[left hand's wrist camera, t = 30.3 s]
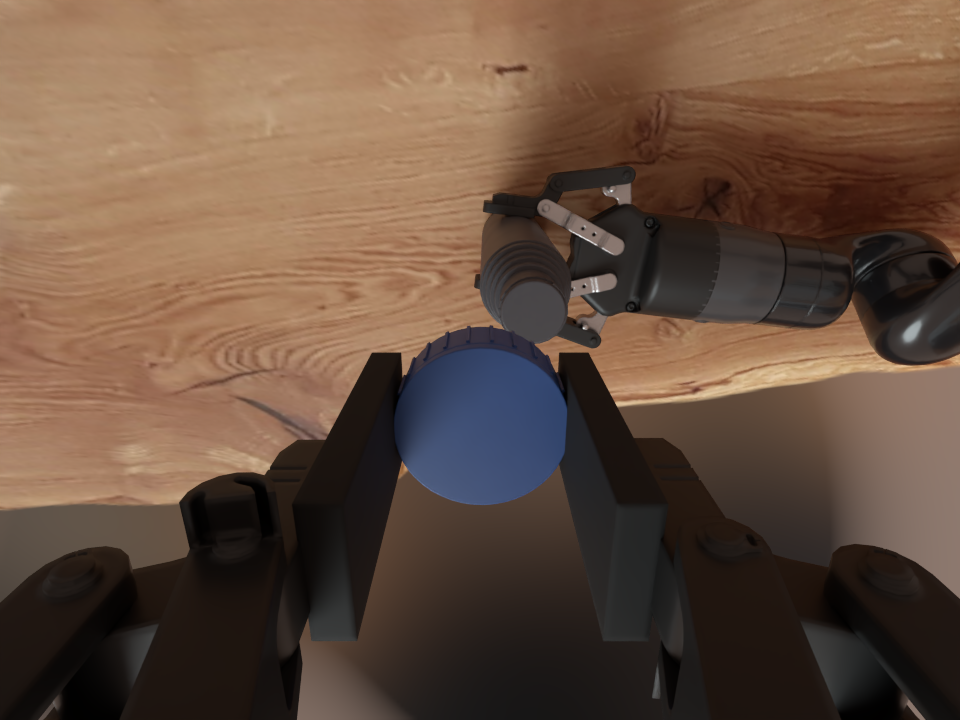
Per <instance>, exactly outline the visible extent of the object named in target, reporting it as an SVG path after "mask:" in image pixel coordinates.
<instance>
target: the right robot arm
mask: <svg viewBox="0 0 960 720" xmlns="http://www.w3.org/2000/svg"><path fill="white" fill-rule="evenodd" d="M634 178H635V170H634V169H633V168H632V167H630V166H621V165H619V166H610V167H602V168H593V169H585V170H576V171H568V172H559V173H552V174H551V175H549V176H548V178H547V182H546V184H545V186H544V188H543V190H542V192H541V193H540V194H539V195H537V196H533V197H532V196H524V195H516V194H508V193H496V194H493V199H492V201H488V200H484V206H483V212H486V213H494V214H502V215H509V216H519V217H525V218H533V219H534V216H542V217H545V218H547V219H549V220H550V221H552V222H554V223H556V224H558V225H560V226H561V227H563V228H565V229H566V230H568V231H570V232H572V233H571V239H570V250H571V254H570V256H569V258H568V260H567V262H566V263H567V265H568V268H569V271H570V275H571V288H573V289H571V295H570V298H572V297H576V296H581V297H582V298H583V299H584V300H585V301H586V302H587V303H588V304H589V305H590V306H591V307H592V308H593V309H594V310H595V311H594V312H593V313H591V314H589V315H586V314H580V315H578V316H577V317H576V319H573V318H570V317H568V316H567V319H566V322H565V324H564V326H563V328H562V330H561V331H560V332H559V333H558V334H557V335H556V336H559V337H562V338H564V339H567V340H570V341H573V342H575V343H578V344H581V345H584V346H587V347H589V348H596V347H598V346H599V345H600V343H601V338H600V336H599V334H600V332H601V330H602V328H603V326H604V323H605V321H606V319H607V317H608V316H613V315H616V314H618V313H623V312H630V313H637V314H646V315H654V316H662V317H670V318H679V319H687V320H693V321H695V322H700V323H708V322H712V323H722V324H734V323H746V324H757V325H765V326H773V327H781V328H789V329H801V330H815V329H820V328H824V327H826V326H829V325H830V324H832V323H834V322H835V321H836V320H837V319H839V318H840V317H841V315H842V314H843V313H844V312H845V310H846V309H847V307H848V305H849V303H850V301H851V300H852V302H853V305H854V307H855V309H856V312H857V314H858V317H859V319H860V321H861V324H862V326H863V329H864V331H865V333H866V336H867V338H868V340H869V342H870V345H871V346H872V347H873V349H874V350H875V352H876V353H877V354H878V355H879V356H881V357H882V358H883V359H885V360H887V361H890V362H892V363H895V364H901V365H910V366H912V365H926V364H932V363H936V362H940V361H944V360H946V359H949V358H952V357H954V356H956V355H959V354H960V262H959V264H958V263H957V261H956V259H955V258H954V256H953V254H952V253H951V251H950V250H949V248H948V247H947V246H946V245H945V244H944V243H943V242H942V241H940V240H939V239H937V238H935V237H933V236H931V235H929V234H927V233H924V232H921V231H917V230H912V229H902V228H897V229H886V230H878V231H871V232H864V233H856V234H847V235H840V236H835V237H828V238H820V239H819V238H813V237H808V236H800V235H792V234H784V233H776V232H768V231H763V230H760V229H756V228H753V227H749V226H745V225H739V224H733V223H728V222H717V221H708V220H701V219H693V218H685V217H677V216H670V215H662V214H654V213H647V212H643V211H641V210H640V209H638V208H637V207H636V206H634V205H632V201H631V182H632V181H633V180H634ZM599 187H600V191H601V193H602V194H603V195H605V196H608V197H613V198H614V199H615V201H616V205H614V206H612V207H610V208H608V209H606V210H605V211H603V212H601V213H599V214H597V215H595V216H594V217H592V218H590V219H588V220H586V219H584V218H583V217H581V216H579V215H577V214H575V213H574V212H572V211H570V210H568V209H566V208H564V207H562V206H561V205H559V204H557V202H558V200H559V198H560V196H561V194H562V193H563V192H564V191H573V190H581V189H590V188H599ZM474 287H475V288H477V289H480V274H476V276H475V284H474Z"/></svg>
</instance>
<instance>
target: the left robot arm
mask: <svg viewBox="0 0 960 720" xmlns="http://www.w3.org/2000/svg"><path fill="white" fill-rule="evenodd" d="M558 373H559V375H560V378H561V381H562V384H563V387H564V390H565V393H563V395H564V398H565V401H566V404H567V422H566V438H565V452H564V456H563V458H562V460H561V461H560V463H559V466H560V470H561V474H562V478H563V481H564V485H565V490H566V493H567V498H568V502H569V505H570V509H571V514H572V517H573V522H574V526H575V529H576V533H577V538H578V542H579V546H580V550H581V553H582V558H583V562H584V566H585V570H586V574H587V577H588V581H589V586H590V589H591V593H592V598H593V602H594V606H595V610H596V613H597V618H598V622H599V626H600V629H601V633H602V637H603V641H649V635H650V628H651V622H652V615H653V618H654V620H655V623H656V626H657V629H658V631H659V634H660V637H661V644H660V650H659V657H658V663H657V669H656V676H655V682H654V689H653V695H652V698H657V699H659V698H660V693H661V701H662V711H663V720H920V719H919V718H917V716H916V715H915V714H914V713H913V712H912V710H911V709H910V708H909V707H908V705H907V702H908V700H910V701H911V702H912V703H913V705H914V706H915V707H916V708H917V710H918V711H919V712H920V713H921V715H922V716H923V717H924V718H925V720H960V599H959V598H958V597H957V596H956V595H955V594H954V593H953V592H952V591H950V590H949V589H948V588H947V587H946V586H945V585H944V584H943V583H942V582H940V581H939V580H938V579H937V578H936V577H935V576H934V575H933V574H931V573H930V572H928V571H927V570H926V569H924V568H923V567H922V566H920V565H919V564H917V563H916V562H914V561H912V560H910V559H908V558H906V557H904V556H902V555H900V554H898V553H896V552H893V551H890V550H887V549H883V548H880V547H876V546H869V545H860V544H852V545H847V546H841V547H840V548H838V549H837V550H836V551H835V552H834V553H833V554H832V557H831V561H830V564H829V567H824V566H819V565H815V564H810V563H805V562H800V561H796V560H791V559H787V558H784V557H780V556H777V555H773V554H772V552H771V549H770V547H769V546H768V545H767V543H766V542H765V540H764V539H763V538H762V537H761V536H760V535H759V534H757V533H756V532H755V531H753V530H752V529H751V528H749V527H748V526H745V525H743V524H741V523H739V522H736V521H734V520H731V519H727V518H725V516H724V515H723V513H722V512H721V510H720V509H719V507H718V506H717V504H716V503H715V501H714V500H713V498H712V497H711V495H710V494H709V492H708V491H707V489H706V488H705V486H704V485H703V483H702V482H701V480H699V479H698V476H697V474H696V473H695V471H694V470H693V468H691V467H690V464H689V462H688V461H687V459H686V458H685V456H684V455H683V453H682V452H681V450H679V449H678V448H676V447H675V446H673V445H672V444H671V443H669V442H668V441H666V440H665V439H663V438H633V436H632V434H631V432H630V430H629V428H628V427H627V425H626V423H625V421H624V419H623V417H622V415H621V413H620V412H619V410H618V408H617V406H616V404H615V402H614V400H613V398H612V396H611V394H610V393H609V391H608V389H607V387H606V385H605V383H604V381H603V379H602V378H601V376H600V374H599V372H598V370H597V368H596V366H595V364H594V362H593V361H592V359H591V357H590V355H589V353H559V366H558ZM402 379H403V378H402V360H401V353H372V354H371V356H370V358H369V359H368V361H367V363H366V365H365V367H364V369H363V371H362V373H361V374H360V376H359V378H358V380H357V382H356V384H355V386H354V388H353V390H352V391H351V393H350V395H349V397H348V399H347V401H346V403H345V405H344V406H343V408H342V410H341V412H340V414H339V416H338V418H337V420H336V422H335V423H334V425H333V427H332V429H331V431H330V433H329V435H328V437H327V439H326V440H297V441H295V442H294V443H293V444H291V445H290V446H288V447H287V448H285V449H284V450H282V451H281V452H280V453H279V454H278V456H277V457H276V459H275V460H274V462H273V463H272V465H271V466H270V470H268V471H267V472H266V474H265V475H261V474H257V473H254V472H250V473H232V474H227V475H222V476H218V477H216V478H213V479H211V480H208V481H205V482H203V483H201V484H199V485H198V486H196V487H195V488H193V489H192V490H190V491H189V492H187V494H186V495H185V496H184V497H183V498H182V500H181V501H180V502H179V504H180V508H181V513H182V517H183V521H184V525H185V530H186V534H187V539H188V543H189V547H190V550H189V553H188V555H187V557H185V558H182V559H178V560H174V561H171V562H166V563H162V564H157V565H152V566H147V567H143V568H138V569H133V570H132V566H131V563H130V559H129V556H128V555H127V554H126V553H125V552H124V551H122V550H121V549H118V548H113V547H107V546H104V547H95V548H87V549H83V550H79V551H76V552H72V553H69V554H66V555H64V556H62V557H60V558H58V559H56V560H54V561H52V562H50V563H48V564H46V565H44V566H43V567H42V568H40V569H39V570H38V571H36V572H35V573H33V574H32V575H31V576H29V577H28V578H27V579H26V580H25V581H24V582H23V583H22V584H20V585H19V586H18V587H17V588H16V589H15V590H14V591H13V592H12V593H10V594H9V595H8V596H7V597H6V598H5V599H4V600H3V601H2V602H1V603H0V720H38V719H39V718H40V717H41V716H42V714H43V713H44V712H45V711H46V709H47V708H48V707H49V706H50V704H51V703H52V702H53V703H54V706H55V707H54V708H53V709H52V710H51V712H50V713H49V714H48V715H47V717H46V718H45V719H44V720H297V712H298V702H299V693H300V683H301V673H302V657H301V650H300V644H299V640H300V638H301V635H302V632H303V630H304V627H305V624H306V621H307V619H309V626H310V633H311V640H312V641H357V639H358V635H359V631H360V627H361V623H362V619H363V615H364V611H365V607H366V603H367V599H368V595H369V591H370V587H371V583H372V579H373V575H374V571H375V567H376V563H377V559H378V555H379V551H380V547H381V543H382V539H383V535H384V531H385V527H386V523H387V519H388V515H389V511H390V507H391V503H392V499H393V495H394V491H395V487H396V483H397V479H398V475H399V471H400V467H401V463H402V459H401V457H400V455H399V453H398V450H397V447H396V443H395V432H394V413H395V409H396V405H397V402H398V399H399V396H398V395H397V393H398V391H399V388H400V385H401V382H402Z"/></svg>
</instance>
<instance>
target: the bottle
mask: <svg viewBox="0 0 960 720" xmlns="http://www.w3.org/2000/svg"><path fill="white" fill-rule="evenodd" d="M480 293H481V297H482V301H483V303H484V305H485V307H486V309H487V310H488V312H489V313H490V315H491V316H492V317H493V318H494V319H495V320H496V321H497V322H498V323H500V324H501V325H502V327H503V328H504V329H505V330H506V331H509V332H511V331H512V330H513V331H515V334H517V335H519V336H521V337H523V338H525V339H526V340H528V341H531V340H532V341H533V342H534V344H537V343H542V342H545V341H548V340H550V339H551V338H553V337H554V336H556V335H557V334H558V333H559V332H560V331H561V330H562V328H563V326H564V324H565V322H566V319H567V315H568V302H569V299H570V295H571V275H570V271H569V268H568V265H567V263H566V262H565V260H564V258H563V257H562V256H561V254H560V253H559V252H558V250H557V249H556V247H555V246H554V245H553V243H552V242H551V241H550V239H549V238H548V237H547V235H546V234H545V232H544V231H543V230H542V228H541V227H540V226H539V224H538V223H537V222H536V220H535V219H533V218H525V217H519V216H509V215H502V214H494V213H493V214H492V215H491V216H490V217H489V219H488V220H487V221H486V223H485V226H484V228H483V233H482V251H481V271H480Z"/></svg>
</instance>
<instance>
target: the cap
mask: <svg viewBox="0 0 960 720" xmlns="http://www.w3.org/2000/svg"><path fill="white" fill-rule="evenodd" d="M563 393H565V390H564V387H563V384H562V381H561V378H560V375H559V373H558V372H557V373H556V372H555V370H554V368H553V366H552V364H551V361H550V358H549V356H548V355H546V356H545V355H544V354H543V353H542V352H541V350H540V349H539V348H537V347H536V346H535V344H534V342H533V341H532V340H531V341H528V340H526V339H525V338H523V337H521V336H519V335H517V334H515V331H513V330H512V331H511V332H509V331H506V330H503V329H498V328H493V326H491V325H490V327H473V328H471V327H470V326H467V328H466V329H461V330H457V331H454V332H451V333H449V332H446V333H445V335H444V336H442V337H440V338H438V339H437V340H435V341H434V342H432V343H430V342H429V343H427V346H426V348H425V349H424V350H423V351H422V352H421V353H420V354H419V355H418V356H417V357H416V358H415V357H414V358H413V359H412V362H411V365H410V368H409V370H408V373H407V375H404V376H403V379H402V382H401V385H400V388H399V391H398V393H397V395H398V396H399V399H398V402H397V405H396V409H395V413H394V432H395V443H396V447H397V450H398V453H399V455H400V457H401V459H402V461H403V463H404V464H405V466H406V467H407V469H408V470H409V471H410V473H411V474H412V475H413V476H414V477H415V478H416V479H417V480H418V481H419V482H420V483H421V484H423V485H424V486H425V487H427V488H428V489H429V490H431V491H433V492H434V493H436V494H438V495H440V496H442V497H445V498H447V499H450V500H453V501H457V502H461V503H467V504H475V505H488V504H497V503H502V502H507V501H510V500H513V499H516V498H519V497H521V496H523V495H525V494H527V493H529V492H531V491H532V490H534V489H535V488H537V487H538V486H539V485H541V484H542V483H543V482H544V481H545V480H546V479H547V478H548V477H549V476H550V475H551V474H552V473H553V472H554V470H555V469H556V468H557V466H558V465H559V463H560V461H561V460H562V458H563V456H564V452H565V438H566V422H567V404H566V401H565V398H564V395H563Z"/></svg>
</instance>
